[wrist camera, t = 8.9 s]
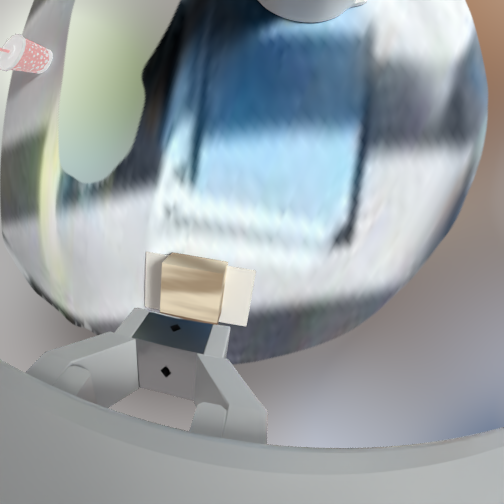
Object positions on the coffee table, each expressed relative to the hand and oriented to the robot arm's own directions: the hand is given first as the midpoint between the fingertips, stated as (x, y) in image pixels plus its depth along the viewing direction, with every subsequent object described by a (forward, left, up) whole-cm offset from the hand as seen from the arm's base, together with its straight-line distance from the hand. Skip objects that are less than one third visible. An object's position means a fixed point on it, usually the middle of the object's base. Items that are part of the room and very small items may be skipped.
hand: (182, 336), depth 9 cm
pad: (+14, -6, -32) cm, 36 cm away
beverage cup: (-20, -39, -33) cm, 54 cm away
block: (+9, -6, -30) cm, 32 cm away
